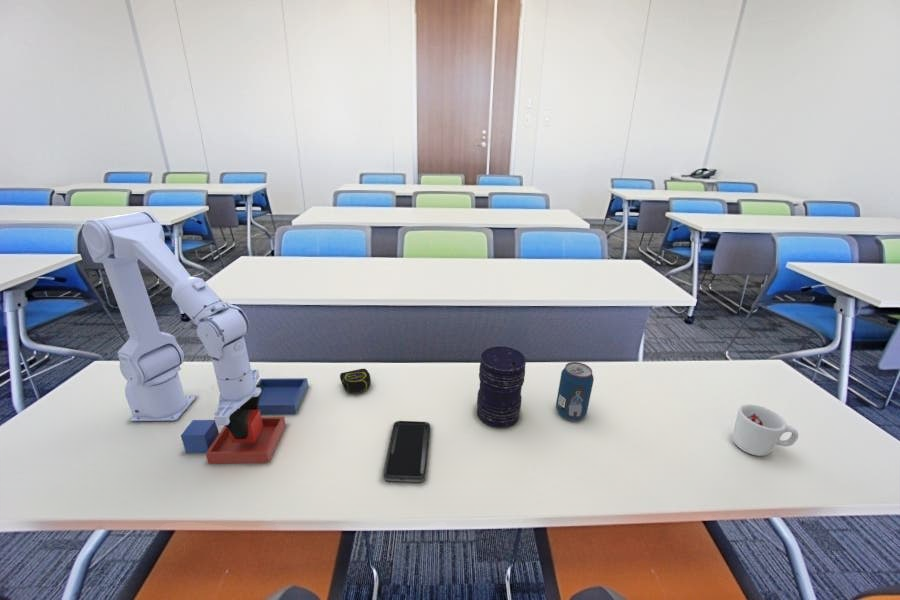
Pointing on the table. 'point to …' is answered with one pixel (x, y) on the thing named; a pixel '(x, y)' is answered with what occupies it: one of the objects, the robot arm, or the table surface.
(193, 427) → the blue block
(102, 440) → the table surface
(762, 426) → the cup
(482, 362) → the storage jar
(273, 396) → the blue tray
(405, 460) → the phone
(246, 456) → the red tray
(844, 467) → the table surface
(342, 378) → the tape measure
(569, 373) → the soda can
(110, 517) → the table surface
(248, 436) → the red block
